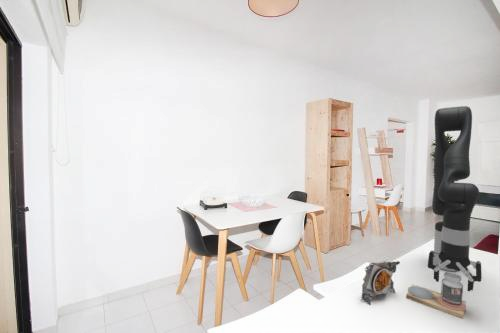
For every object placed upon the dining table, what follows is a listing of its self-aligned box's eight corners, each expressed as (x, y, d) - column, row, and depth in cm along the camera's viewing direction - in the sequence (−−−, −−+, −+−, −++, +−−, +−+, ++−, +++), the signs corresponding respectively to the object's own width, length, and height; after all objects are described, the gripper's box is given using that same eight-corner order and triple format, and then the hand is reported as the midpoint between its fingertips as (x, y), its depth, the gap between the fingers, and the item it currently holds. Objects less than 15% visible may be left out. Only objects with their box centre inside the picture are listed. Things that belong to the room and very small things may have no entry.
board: (412, 287, 99) (412, 284, 99) (465, 304, 87) (465, 301, 87) (406, 297, 92) (406, 294, 91) (462, 318, 80) (463, 315, 80)
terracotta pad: (438, 293, 92) (438, 293, 92) (467, 303, 86) (467, 302, 86) (435, 303, 86) (435, 302, 86) (465, 314, 81) (465, 313, 81)
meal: (371, 306, 87) (372, 270, 86) (361, 299, 91) (362, 265, 90) (399, 295, 93) (400, 261, 92) (388, 289, 97) (389, 257, 96)
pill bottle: (465, 308, 83) (467, 280, 82) (446, 306, 84) (448, 278, 83) (455, 298, 88) (456, 271, 88) (437, 296, 90) (438, 270, 89)
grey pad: (410, 284, 98) (410, 283, 98) (435, 292, 93) (435, 292, 93) (405, 293, 92) (405, 292, 92) (431, 302, 87) (431, 301, 87)
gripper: (483, 242, 82) (480, 289, 84) (431, 232, 92) (429, 274, 94) (483, 249, 77) (479, 299, 78) (427, 238, 87) (425, 282, 88)
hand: (452, 285), depth 86 cm, fingers open, 8 cm apart
